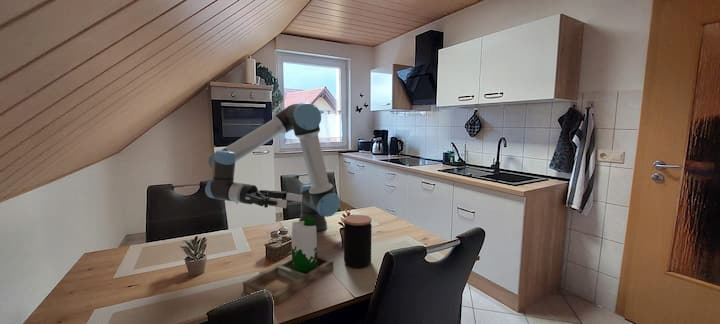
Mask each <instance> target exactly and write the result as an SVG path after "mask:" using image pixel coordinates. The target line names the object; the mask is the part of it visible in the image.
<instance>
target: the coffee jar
mask: <svg viewBox="0 0 720 324" xmlns="http://www.w3.org/2000/svg"><path fill="white" fill-rule="evenodd" d="M343 221H344V225H343V261H344V263H345V264H346V266H348V267H349V268H350V269H364V268H366V267H369V265H370V264H371V262H372V229H373V228H372V224H371V223H372V218H371V217H370V216H368V215H364V214H351V215H348V216H345V217H344V219H343Z"/></svg>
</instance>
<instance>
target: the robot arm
mask: <svg viewBox="0 0 720 324" xmlns="http://www.w3.org/2000/svg"><path fill="white" fill-rule="evenodd" d="M320 111H321V110H320V109H319V108H318V107H317V106H316V105H315V104H312V103H311V102H300V103H292V104H291V105H288V106H286V107H285V108H283V110H281V111H280V112H278V113H277V114H274V115H273V116H272V119H271V120H269V121H267V122H266V123H264V124H263V125H260V126H259V127H257V128H256V129H254V130H253V131H251V132H249V133H248V134H246V135H244V136H242V137H240V138H239V139H237V140H236V141H235V142H232V143H231V144H229V145H227V146H226V147H224V148H222V149H221V150H216V151H215V152H213V153H211V154H210V156H209V157H208V160H207V161H208V162H207V163H208V165H209V167H210V168H211V169H212V170H213V175H212V176H213V177H212V179H210V180H209V181H207V183H206V186H205V188H204V191H205V195H206V196H207V197H209V198H210V199H216V200H217V201H219V200H221V201H227V202H228V201H229V202H234V203H235V204H239V203H240V204H241V203H242V204H245V205H253V204H254V205H257V206H260V207H263V208H268V207H269V206H270V207H275V208H281V209H286V208H287V204H288V201H292V202H300V216H299V219H298V222H300V221H304V218H306V217H315V223H316V232H322V231H324V230H326V229H327V227H328V223H327V220H326V217H332V216H333V215H335V214H336V213H337V212H338V211H339V209H340V207H341V198H340V197H339V196H338V194H337V193H335V190H334V189H335V188H334V185H333V184H332V183H330V182H329V178H328V173H327V168H326V164H325V159H324V157H323V153H322V147H321V143H320V138H319V133H320V132H321V127H320V123H322V122H321V121H322V114H321V112H320ZM292 130H293V133H294V136H295V138H298V139H299V142H300V147H301V151H302V155H303V159H304V163H305V167H306V171H307V175H308V179H309V183H310V184H304V185H302V186H301V187H300V193H299V194H298V193H291V192H289V191H288V190H286V191H283V190H282V191H280V190H267V189H264V190H263V189H260V190H258V187H257V186H256V185H254V184H247V183H243V182H234V180H235V169H236V168H235V167H236V163H237V162H238V161H239V160H241V159H243V158H244V157H246V156H247V155H250V153H253V151H255V150H257V149H259V148H260V147H261V146H264V145H265V144H267V143H268V142H270V141H271V140H273V139H275V138H276V137H278V136H279V135H281V134H287V133H288V132H290V131H292Z"/></svg>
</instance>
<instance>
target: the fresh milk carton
mask: <svg viewBox="0 0 720 324" xmlns="http://www.w3.org/2000/svg"><path fill="white" fill-rule="evenodd" d="M317 251H318V235H317V232H316V223H315V217H306V218H304V221H300V222H299V221H293V222H292V228H291V258H292V261H293V266H294V267H293V270H295V271H298V272H301V273H303V274H307V273H309V272H311V271H312V270H314V269H315V268H317V265H316V264H317V256H318V252H317Z"/></svg>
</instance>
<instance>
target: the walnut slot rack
mask: <svg viewBox="0 0 720 324" xmlns="http://www.w3.org/2000/svg"><path fill="white" fill-rule="evenodd" d="M292 268H294V266H293V261H292V257H290V258H288V259H286V260H284V261H282V262H280V263H278V264H276V265H275V266H272V267H271V268H269V269H266V270H265V271H262V272H261V273H259V274H257V275H255V276H253V277H251V278H248V279H247V280H245V281H243V282H242V291H243V293H246V294H249V295H251V293H254V292H257V291H260V290H264V289H266V290H268V291H269V292H270V293H271V294H272V297H273V300H274V305H273V306H275V305H277V306H278V305H279V304H281V303H282V302H284V301H286V300H287V299H288V298H290V297H292V296H293V295H295V294H297V292H299V291H301V290H303V289H304V288H306V287H307V286H308V285H310V284H311V283H313V282H315V281H317V279H318V278H321V277H322V276H323V275H325V274H327V273H328V272H330V271H331V270H332V269H334V260H333V259H329V258H326V257H323V256H319V255H317V264H316V268H315V269H314V270H312V271H311V272H309V273H307V274H303V273H301V272H298V271H295V270H294V269H292ZM277 276H280V277H282V278H284V279H287V280H289V281H292V282H291V283H290V284H288V285H286V286H283V288H281V289H280V290H278V291H277V292H275V291H273V290H271V289H268V288H266V287H263V286H261V285H263V284H264V283H267V282H268V281H270V280H272V279H274V278H275V277H277Z"/></svg>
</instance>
